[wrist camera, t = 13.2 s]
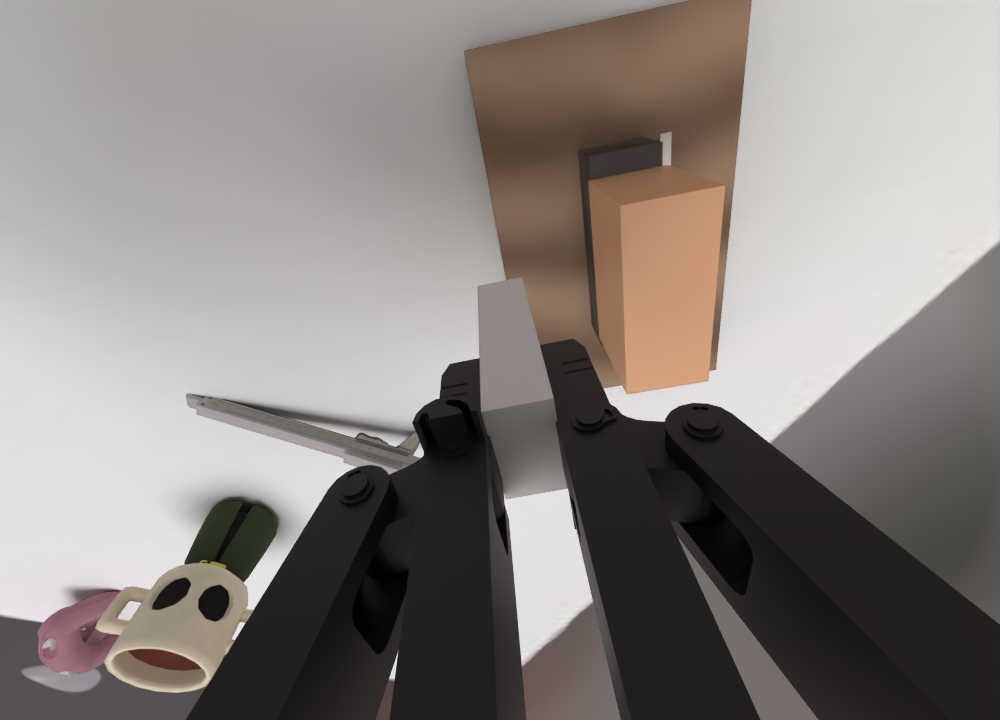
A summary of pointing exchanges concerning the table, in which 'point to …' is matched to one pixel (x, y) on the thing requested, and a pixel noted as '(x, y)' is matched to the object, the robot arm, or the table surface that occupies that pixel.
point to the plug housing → (656, 273)
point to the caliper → (310, 434)
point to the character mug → (190, 606)
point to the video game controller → (76, 636)
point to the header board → (603, 141)
